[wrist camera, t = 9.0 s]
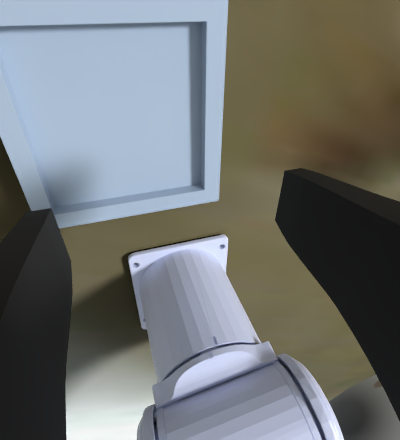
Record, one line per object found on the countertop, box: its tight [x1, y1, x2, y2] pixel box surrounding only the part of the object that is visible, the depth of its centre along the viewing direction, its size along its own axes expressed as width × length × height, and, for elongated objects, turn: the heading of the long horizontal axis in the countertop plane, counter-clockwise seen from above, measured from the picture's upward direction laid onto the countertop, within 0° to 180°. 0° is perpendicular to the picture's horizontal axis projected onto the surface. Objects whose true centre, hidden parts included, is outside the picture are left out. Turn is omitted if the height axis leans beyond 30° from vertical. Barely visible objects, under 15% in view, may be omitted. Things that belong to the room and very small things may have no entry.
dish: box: [0, 0, 228, 228], centre depth 16 cm, size 11×11×2 cm
